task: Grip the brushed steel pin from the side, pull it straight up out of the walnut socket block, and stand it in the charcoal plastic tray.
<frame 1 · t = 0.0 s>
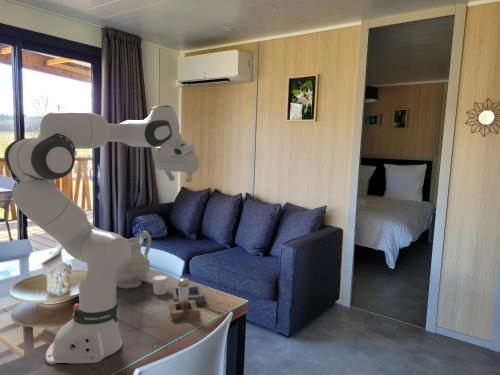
hand: (180, 181, 146), 52 cm above the table, tool tilted 20°, fingers open, 8 cm apart
socket block: (183, 313, 146), on the table
shot glass: (160, 292, 167), on the table
ceramic pitcher: (130, 284, 177), on the table
steel pin: (183, 296, 146), in the socket block
tray: (187, 299, 160), on the table
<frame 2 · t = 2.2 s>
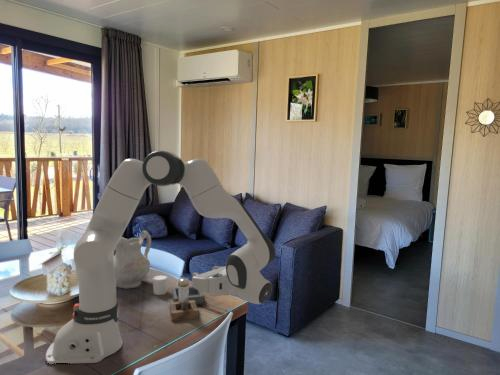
hand: (204, 271, 136), 20 cm above the table, tool horizontal, fingers open, 8 cm apart
nothing on the table moved.
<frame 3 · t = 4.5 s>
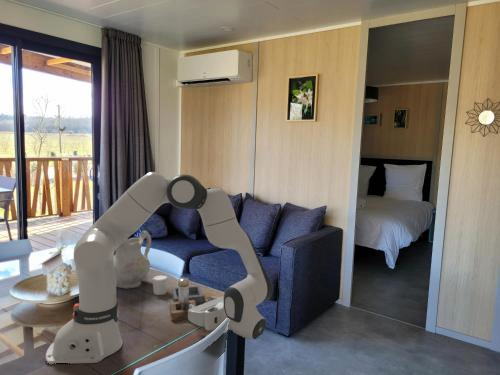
hand: (200, 302, 139), 8 cm above the table, tool horizontal, fingers open, 8 cm apart
nothing on the table moved.
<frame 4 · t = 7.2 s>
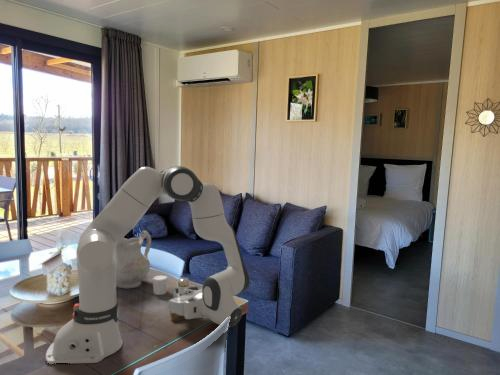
hand: (182, 293, 146), 8 cm above the table, tool horizontal, fingers closed on steel pin, 4 cm apart
steel pin: (183, 296, 146), in the socket block, touching gripper
everything else where it was.
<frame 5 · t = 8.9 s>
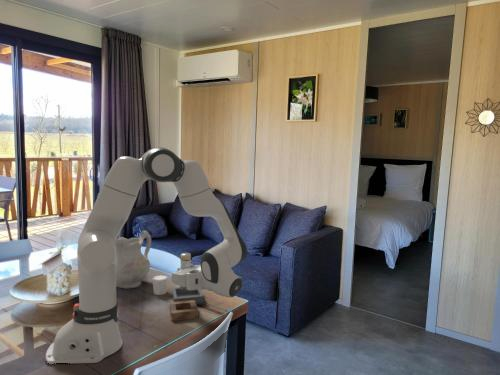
hand: (184, 268, 149), 17 cm above the table, tool horizontal, fingers closed on steel pin, 4 cm apart
steel pin: (185, 271, 149), point 16 cm above the table, touching gripper
everything else where it was.
when the fingers open (10 cm above the table, at t = 11.1 s): steel pin stays where it is, resting on tray.
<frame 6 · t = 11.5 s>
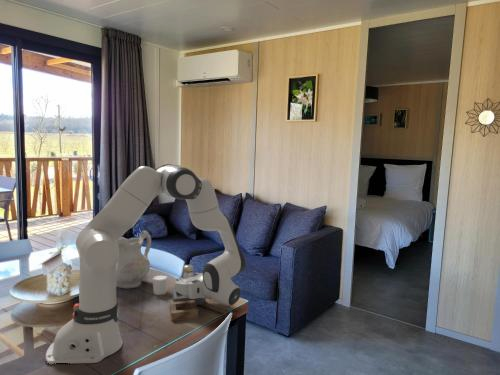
hand: (186, 277, 159), 10 cm above the table, tool horizontal, fingers open, 8 cm apart
steel pin: (187, 282, 159), in the tray, point 8 cm above the table
everything else where it was.
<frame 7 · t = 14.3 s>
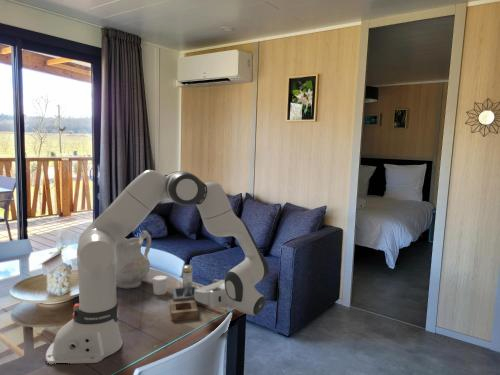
hand: (205, 284, 151), 10 cm above the table, tool horizontal, fingers open, 8 cm apart
nothing on the table moved.
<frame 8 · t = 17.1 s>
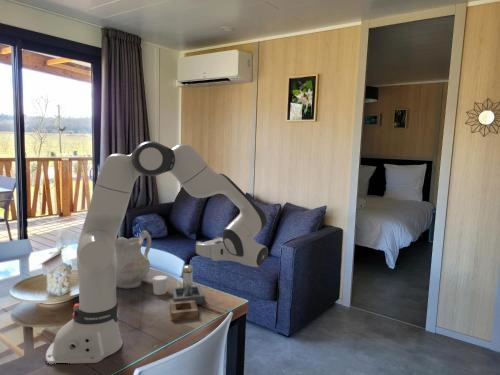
hand: (206, 241, 149), 28 cm above the table, tool horizontal, fingers open, 8 cm apart
nothing on the table moved.
at the end: steel pin inside the target area on the tray (0.1 cm from its centre), point 7.8 cm above the tray's base; the gripper is holding nothing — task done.
